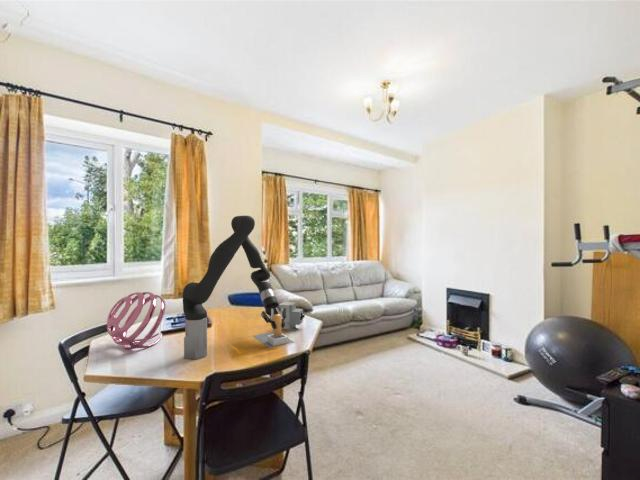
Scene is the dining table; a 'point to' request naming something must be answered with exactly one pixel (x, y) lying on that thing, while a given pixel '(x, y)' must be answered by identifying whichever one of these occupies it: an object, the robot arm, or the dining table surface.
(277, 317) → the wooden peg
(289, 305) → the circuit breaker
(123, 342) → the spiral basket
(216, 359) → the dining table surface
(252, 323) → the dining table surface
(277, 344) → the lockout board
